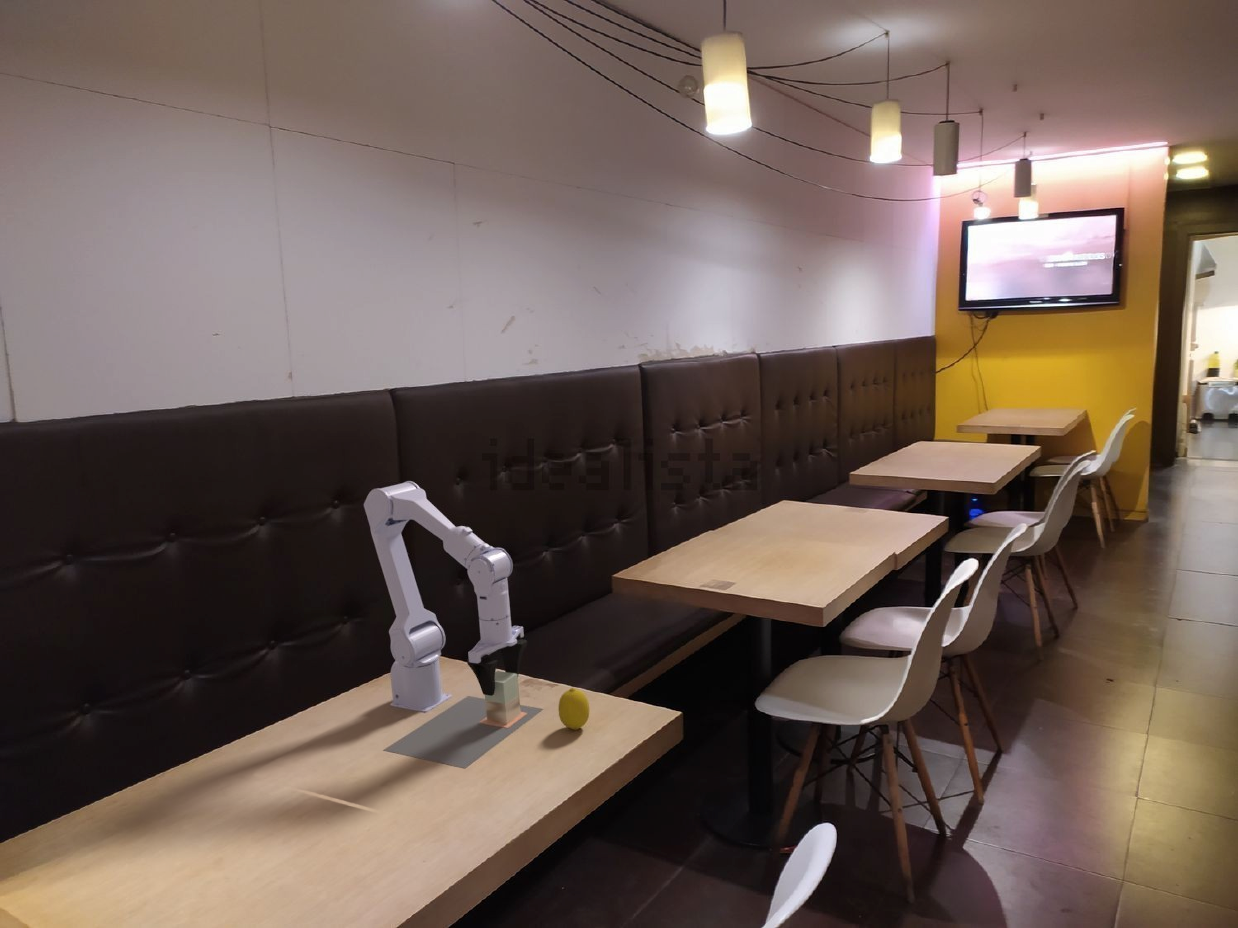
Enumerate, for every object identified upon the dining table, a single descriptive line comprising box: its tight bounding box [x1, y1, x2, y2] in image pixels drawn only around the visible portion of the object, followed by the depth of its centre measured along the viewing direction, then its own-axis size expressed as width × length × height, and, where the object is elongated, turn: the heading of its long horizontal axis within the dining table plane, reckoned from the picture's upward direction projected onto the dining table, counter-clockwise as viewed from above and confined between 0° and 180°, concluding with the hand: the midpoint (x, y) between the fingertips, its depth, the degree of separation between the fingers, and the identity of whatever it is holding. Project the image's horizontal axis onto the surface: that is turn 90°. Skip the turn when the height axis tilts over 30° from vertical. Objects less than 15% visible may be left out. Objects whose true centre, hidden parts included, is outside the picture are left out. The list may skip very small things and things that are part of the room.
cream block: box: [485, 694, 521, 725], centre depth 156 cm, size 4×4×4 cm
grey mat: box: [383, 695, 544, 769], centre depth 153 cm, size 18×24×1 cm
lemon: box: [558, 687, 590, 731], centre depth 149 cm, size 6×6×8 cm
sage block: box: [484, 670, 520, 704], centre depth 155 cm, size 4×4×4 cm
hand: (500, 686), depth 155 cm, fingers open, 7 cm apart
